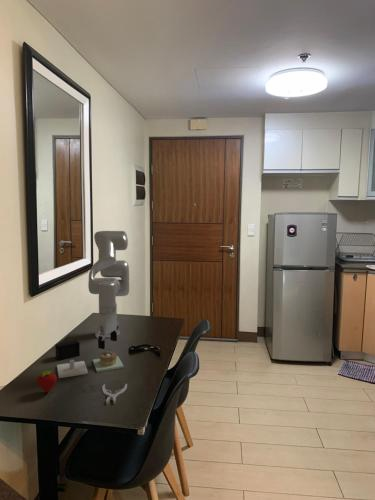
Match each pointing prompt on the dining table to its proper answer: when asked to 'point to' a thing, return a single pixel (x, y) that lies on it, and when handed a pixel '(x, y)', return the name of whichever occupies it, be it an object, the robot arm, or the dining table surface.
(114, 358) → the collar
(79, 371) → the stand
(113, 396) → the pliers
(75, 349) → the digital camera
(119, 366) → the plate
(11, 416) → the dining table surface
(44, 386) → the strawberry
